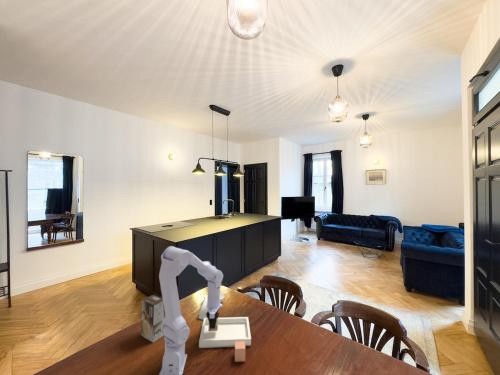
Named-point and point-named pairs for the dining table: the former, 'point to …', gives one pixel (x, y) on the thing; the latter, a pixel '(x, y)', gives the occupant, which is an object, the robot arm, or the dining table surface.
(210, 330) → the maple block
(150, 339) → the coffee box
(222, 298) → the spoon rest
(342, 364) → the dining table surface
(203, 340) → the tray
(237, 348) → the terracotta block
